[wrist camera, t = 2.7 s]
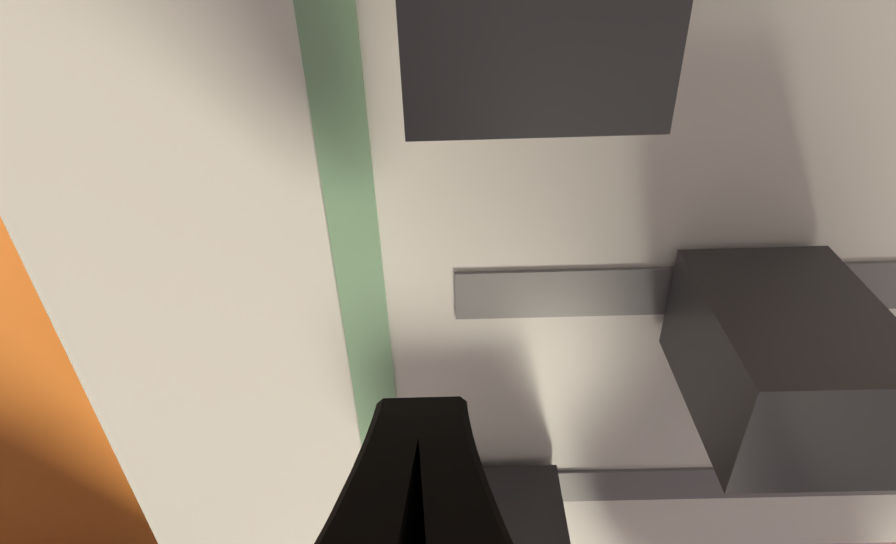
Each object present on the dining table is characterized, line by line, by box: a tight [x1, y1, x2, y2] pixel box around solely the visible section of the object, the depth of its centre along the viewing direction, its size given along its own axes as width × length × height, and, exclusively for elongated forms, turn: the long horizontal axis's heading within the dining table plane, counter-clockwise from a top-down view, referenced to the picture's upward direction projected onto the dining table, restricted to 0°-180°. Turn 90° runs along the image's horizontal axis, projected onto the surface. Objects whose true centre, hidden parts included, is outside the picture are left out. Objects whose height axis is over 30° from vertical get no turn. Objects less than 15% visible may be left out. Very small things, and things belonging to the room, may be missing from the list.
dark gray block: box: [659, 246, 896, 494], centre depth 12 cm, size 2×3×4 cm
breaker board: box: [0, 0, 896, 544], centre depth 14 cm, size 19×28×2 cm
